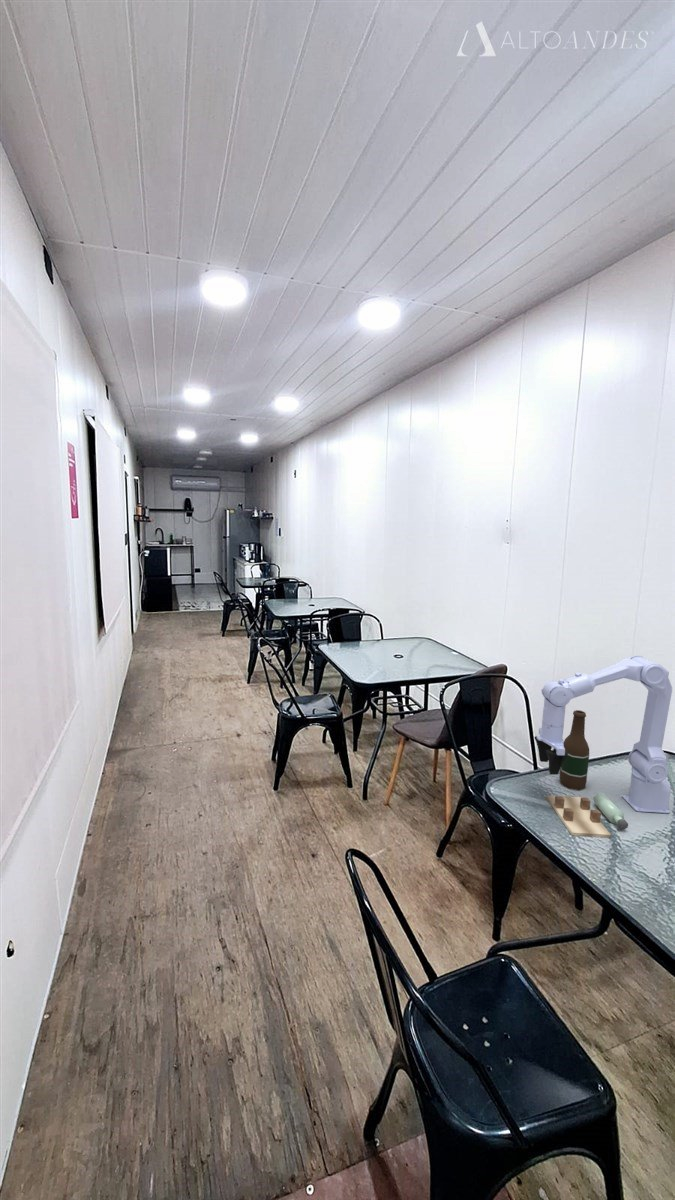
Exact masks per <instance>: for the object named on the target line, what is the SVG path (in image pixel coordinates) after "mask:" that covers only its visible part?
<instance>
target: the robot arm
mask: <svg viewBox="0 0 675 1200" xmlns="http://www.w3.org/2000/svg"><path fill="white" fill-rule="evenodd" d="M669 674H670V672H669V671H668V670H667V669H666V668H665V667H664V666H663V665H661V664H660V663H656V662H654V661H652V660H649V659H647V658H645V657H643V656H642V655H632V656H630V657H626V658H623V659H622V660H621V661H619V662H617V663H615V664H612V665H611V666H607V667H605V668H603V669H600V670H598V671H596V672H593V673H591V674H587V673H586V672H580V671H578V672H576V673H574V675H573V676H570V677H568V678H567V677H566V678H560V679H558V681H554V680H551V681H548V682H547V683H545V685H544V686H543V688H541V694H542V696H543V698H544V699H543V701H544V702H543V707H542V709H543V710H542V718H541V727H538V735H536V736H534V740H535V743H536V745H537V750H538V756H539V757H538V758H539V761H540V762H542V763H548V771H549V775H555V776H557V775H559V774H560V768H561V766H562V764H563V762H564V761H565V759H566V758H567V757H568V754H567V752H565V748H564V745H563V742H564V739H563V737H564V726H565V718H566V717H565V715H566V705H567V706H568V705H569V703H570V701H571V700H573V699H575V698H578V697H581V696H584V695H587V694H590V693H592V692H594V690H595V688H596V687H597V686H601V685H604V684H607V683H611V682H615V681H618V680H621V679H627V680H630V681H634V682H639V683H641V684H642V685H643V686H644V687H645V688H646V689H647V690H648V691H647V696H646V702H645V708H644V715H643V720H642V726H641V731H640V737H639V741H638V742H635V743H633V747H632V750H631V751H630V752H629V754H628V757H627V760H628V763H629V765H630V766H631V777H630V784H629V790H628V791H629V792H628V794H627V795H626V794H623V795H621V798H622V799H623V800H624V801H626V803H627V804H629V806H631V808H633V810H634V811H635V812H641V813H642V812H643V813H646V812H647V813H661V814H670V813H671V812H670V810H669V805H670V798H671V792H672V791H671V790H672V789H671V785H670V783H669V781H668V779H667V778H668V775H669V769H668V767H667V762H668V760H667V759H668V758H667V757H666V754H665V752H664V750H663V744H664V739H665V738H664V737H665V731H666V726H667V722H668V715H669V711H670V706H671V705H670V704H671V699H672V693H673V686H672V683H671V681H670V678H669Z"/></svg>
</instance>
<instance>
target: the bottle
mask: <svg viewBox="0 0 675 1200" xmlns="http://www.w3.org/2000/svg"><path fill="white" fill-rule="evenodd" d="M592 801H593V803H594V804H595V806H596V808H598V810H599V811H600V812H601V814H603V815H604V816H605V817H606V818H607V820H608V821H609V823H611V824H613V825H616V826H617V827H618V828H619V829H620V830H623V831H624V830H626V829H627V828H628V827H629V823H628V822H627V821H626V820H625V816H624V813H623V812H622V811H621V810H620V809H619V808H618V807H617V805H616V804H615V803H614V802H613V801H612V800H611V799H610V798H609V797H608V796H607V794H605V793H603V792H598V793H595V795H594V796H593V799H592Z"/></svg>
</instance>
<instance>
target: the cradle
mask: <svg viewBox="0 0 675 1200" xmlns="http://www.w3.org/2000/svg"><path fill="white" fill-rule="evenodd" d="M545 799H546V800H547V802H548V803H549V804H550V807H552V809H553V811H554V812H555V813H556V815H557V814H558V815H557V816H558V817H559V819H560V820H561V822H562V823H563V825H564V826H565V828H566V829H567V830H568V832H569V834H570V835H571V836H576V837H591V836H593V838H595V837H596V838H609V839H611V838H612V833H610V831H609V830H608V829H607V828H606V827H605V825H604V824H603V823H602V822H601V817H602V812H601V810H600V809H591V800H590V798H589V797H581V796H566V795H565V796H564V795H551V794H550V795H546V794H545Z"/></svg>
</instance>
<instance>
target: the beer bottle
mask: <svg viewBox="0 0 675 1200" xmlns="http://www.w3.org/2000/svg"><path fill="white" fill-rule="evenodd" d="M572 714H573V718H572V723H571V729H570V732H569V734H568V735H567V736H566V738H564V739H563V745H564V748H565V752H567V754H568V757H567V758H566V759H565V761H564V762H563V764H562V766H561V768H560V770H559V782H560V785H561V786H564V787H565V788H567V789H569V790H574V791H581V790H583V789H585V788H586V786H587V779H588V770H589V763H590V761H589V760H590V748H589V747H590V746H589V744H588V742H587V740H586V738H585V729H586V728H585V727H586V725H585V724H586V723H585V722H586V717H587V713H586V711H583V710H579V709H575V710H573V713H572Z"/></svg>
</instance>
